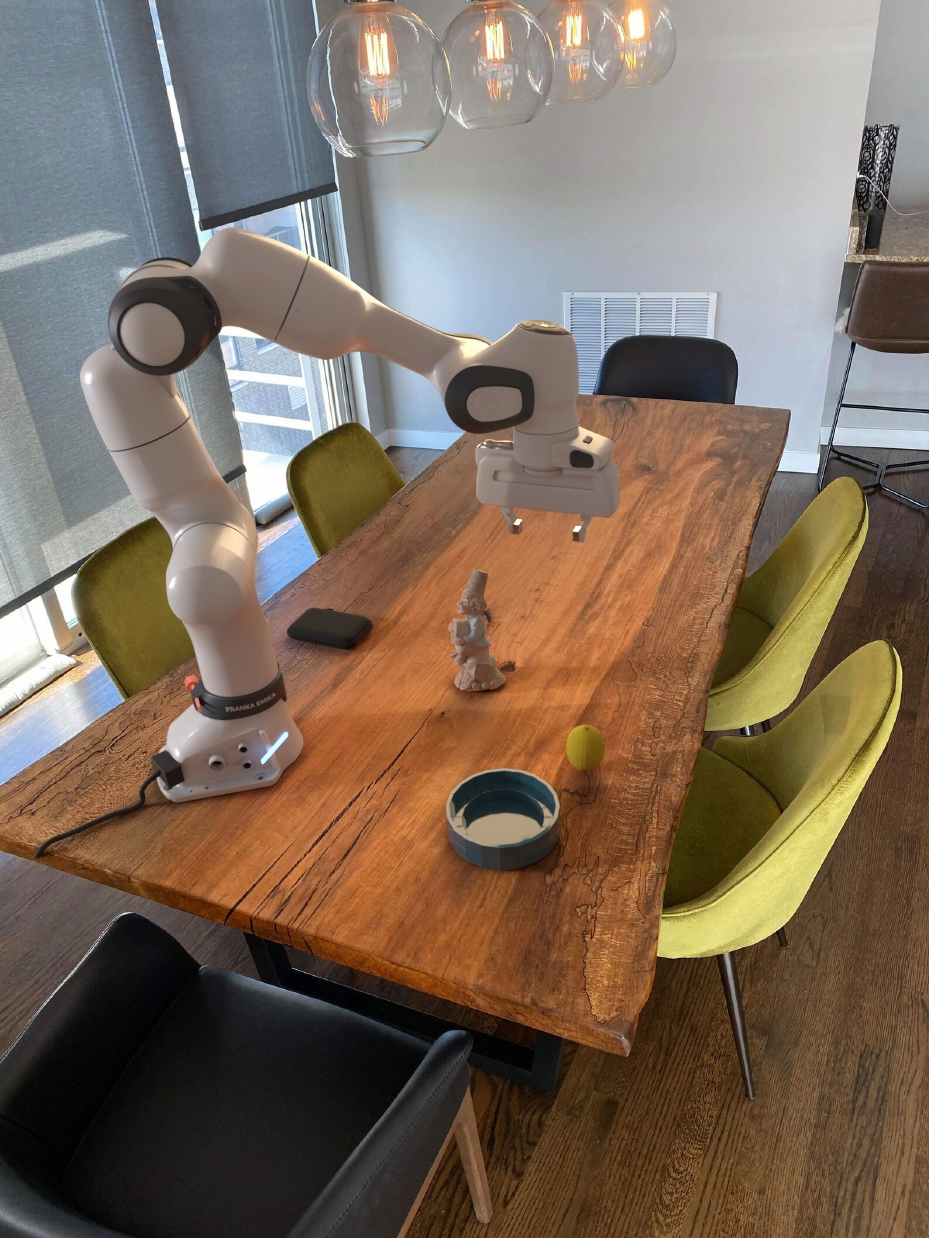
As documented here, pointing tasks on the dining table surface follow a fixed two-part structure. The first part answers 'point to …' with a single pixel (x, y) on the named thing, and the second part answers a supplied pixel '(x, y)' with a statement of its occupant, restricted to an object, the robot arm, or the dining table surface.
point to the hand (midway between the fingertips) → (547, 536)
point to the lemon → (585, 747)
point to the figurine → (474, 640)
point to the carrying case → (330, 628)
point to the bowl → (503, 818)
